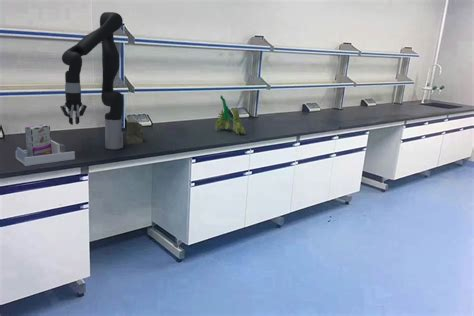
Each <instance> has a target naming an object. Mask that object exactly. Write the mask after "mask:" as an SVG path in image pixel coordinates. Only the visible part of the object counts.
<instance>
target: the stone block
mask: <svg viewBox="0 0 474 316" xmlns="http://www.w3.org/2000/svg"><path fill="white" fill-rule="evenodd" d="M125 141H126V144H127V145H130V144H131V145H133V144H134V145H135V144H137V145H138V144H139V145H140V144H143V143H144V130H143V124H142V123H140V122H139V121H138V119H134V118H127V119H126V139H125Z"/></svg>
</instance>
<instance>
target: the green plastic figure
mask: <svg viewBox="0 0 474 316" xmlns="http://www.w3.org/2000/svg"><path fill="white" fill-rule="evenodd" d="M220 99H221V101H222V104H223V105H222V108H223V109H221V110H220V112H218V115H217V117H218V119H216V120H215V125H214V129H215V130H217V129H218V128H221V129H225V130H228V129H230V128H231V123H230V122H231V121H232V131H234V132H235V133H236V134H237V135H240V134H243V135H246V134H247V133H246V131H245V127H244V126H243V125H242V120H241V116H240V112H239V110H238V109H237V108H236V107H233V108H232V110H231V111H232V115H233V116H231V115H230V109H229V108H230V107H228V106H227V104H226V99H225V98H224V96H223V95H220ZM239 133H240V134H239Z"/></svg>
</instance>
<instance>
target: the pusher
mask: <svg viewBox="0 0 474 316" xmlns="http://www.w3.org/2000/svg"><path fill="white" fill-rule="evenodd" d="M51 149H52V154H57V153H65V152H66V146H65V145H64V144H63V143H58V142H57V141H54V140H52V139H51Z"/></svg>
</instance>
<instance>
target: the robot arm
mask: <svg viewBox="0 0 474 316" xmlns="http://www.w3.org/2000/svg"><path fill="white" fill-rule="evenodd" d="M123 21H124V20H123V17H122V16H121V14H119V13H118V12H114V11H113V12H112V11H111V12H109V11H105V12H102V14H100V16H99V27H98V28H97V29H94V30H93V31H91V32H90V33H88V34H86V35H85V36H83V38H81V39H80V41H78V42H77V43H76V44H75V45H73V46H71V47H69V48H68V49H66V50H64V52H63V53H62V55H61V61H62V63H63V64H64V65H67V66H69V67H68V70H66V71H65V74H64V75H65V77H64V80H65V81H64V82H65V84H64V93H65V103H64V104H63V105H60V107H59V108H60V110H61V112H62V113H63V115H64V116H65V117H67V118H68V123H69V124H70V125H74V122H75V124H76V125H79V124H80V117H82V116H84V113H85V112H86V109H87V107H88V106H87V105H86V104H83V103H82V88H81V75H80V74H81V72H82V67H83V58H82V57H83V56H87V55H88V54H90V53H91V51H93V50H94V49H95V48H96V47H98V45H99V44H100V43H101V60H102V63H101V64H102V65H101V66H102V67H101V68H102V87H101V102H102V104H103V105H104V106H105V107H109V111H108V112H106V113H105V114H104V133H105V134H104V142H105V143H104V147H105V149H108V150H120V149H123V148H124V131H122V122H123V121H122V116H123V114H124V96H123V94H122V93H121V92H120V91H116V90H114V82H115V78H116V76H117V74H118V73H119V71H120V65H121V64H120V53H119V50H118V48H117V45H116V43H115V40H114V38H115V37H114V33H115V32H117V31H118V30H120V29H121V28H122V26H123ZM67 110H68V111H67ZM73 114H75V117H73ZM74 118H75V119H74ZM73 120H75V121H73Z"/></svg>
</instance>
